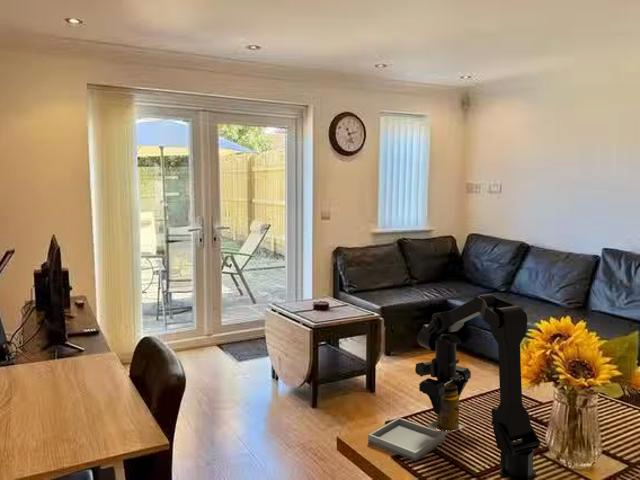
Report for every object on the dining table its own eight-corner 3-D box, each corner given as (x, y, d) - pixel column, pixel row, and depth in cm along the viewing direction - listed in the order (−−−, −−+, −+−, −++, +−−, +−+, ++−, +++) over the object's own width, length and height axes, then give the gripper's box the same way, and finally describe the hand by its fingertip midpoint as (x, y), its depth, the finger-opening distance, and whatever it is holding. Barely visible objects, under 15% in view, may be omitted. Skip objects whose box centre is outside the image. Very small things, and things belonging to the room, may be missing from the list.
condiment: (465, 427, 153) (465, 386, 152) (444, 435, 149) (444, 393, 148) (446, 418, 159) (446, 379, 158) (425, 425, 155) (425, 385, 154)
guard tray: (445, 441, 145) (445, 433, 145) (415, 461, 135) (415, 453, 135) (398, 424, 156) (398, 417, 155) (368, 442, 146) (368, 434, 145)
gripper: (438, 342, 164) (438, 392, 166) (402, 357, 151) (403, 411, 152) (471, 350, 156) (471, 401, 158) (437, 366, 143) (437, 422, 145)
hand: (445, 408), depth 153 cm, fingers open, 9 cm apart
